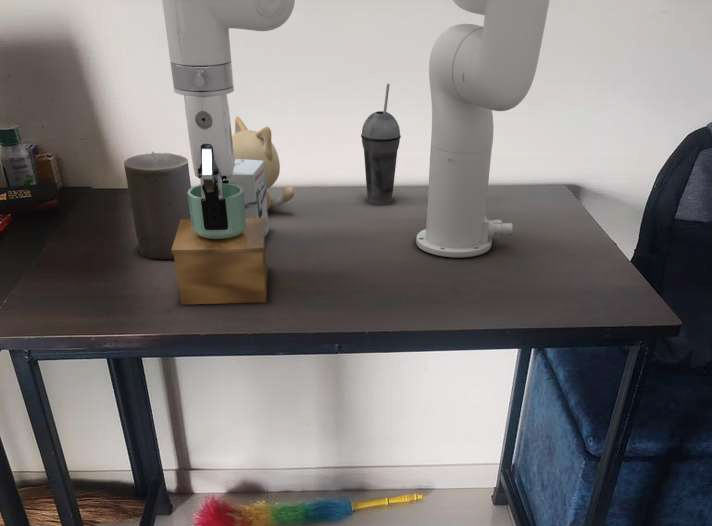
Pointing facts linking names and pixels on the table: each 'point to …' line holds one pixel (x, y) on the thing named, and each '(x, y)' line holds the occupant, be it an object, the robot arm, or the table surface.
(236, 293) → the wooden stand
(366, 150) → the beverage cup
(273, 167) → the kitten
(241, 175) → the ink box
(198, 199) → the teal green pot
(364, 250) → the table surface
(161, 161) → the pillar candle
